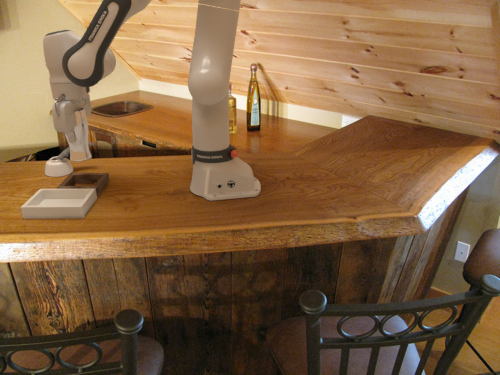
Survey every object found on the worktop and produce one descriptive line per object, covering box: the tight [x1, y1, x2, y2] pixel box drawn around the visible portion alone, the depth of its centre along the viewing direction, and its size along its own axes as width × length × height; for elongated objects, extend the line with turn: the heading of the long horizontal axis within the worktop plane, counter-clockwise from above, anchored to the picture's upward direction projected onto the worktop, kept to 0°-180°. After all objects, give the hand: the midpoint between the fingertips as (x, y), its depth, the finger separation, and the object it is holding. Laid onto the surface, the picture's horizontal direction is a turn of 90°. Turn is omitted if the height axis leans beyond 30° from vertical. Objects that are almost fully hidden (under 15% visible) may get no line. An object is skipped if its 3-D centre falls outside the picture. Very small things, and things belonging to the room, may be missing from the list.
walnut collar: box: [55, 172, 110, 198], centre depth 126 cm, size 12×12×3 cm
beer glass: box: [63, 107, 92, 162], centre depth 120 cm, size 7×7×15 cm
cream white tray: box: [20, 188, 98, 220], centre depth 114 cm, size 16×12×4 cm
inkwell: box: [44, 141, 97, 178], centre depth 139 cm, size 9×18×10 cm, turn 115°
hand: (77, 138), depth 120 cm, fingers closed on beer glass, 6 cm apart
